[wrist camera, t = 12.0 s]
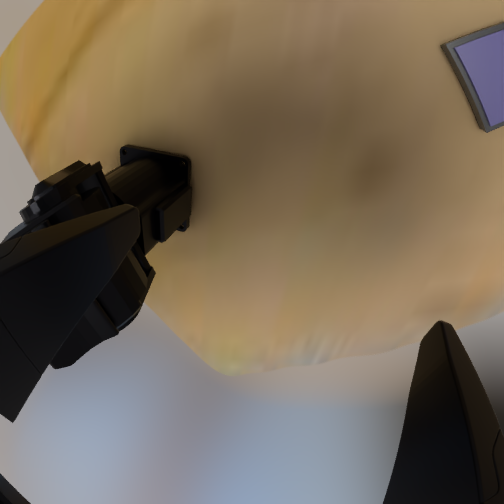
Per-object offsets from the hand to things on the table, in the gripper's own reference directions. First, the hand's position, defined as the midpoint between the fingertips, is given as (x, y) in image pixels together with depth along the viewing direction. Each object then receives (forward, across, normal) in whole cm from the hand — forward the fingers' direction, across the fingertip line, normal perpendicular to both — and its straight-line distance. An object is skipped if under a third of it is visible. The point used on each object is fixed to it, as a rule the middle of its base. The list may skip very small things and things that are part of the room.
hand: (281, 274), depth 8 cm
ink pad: (+13, -8, -8) cm, 18 cm away
